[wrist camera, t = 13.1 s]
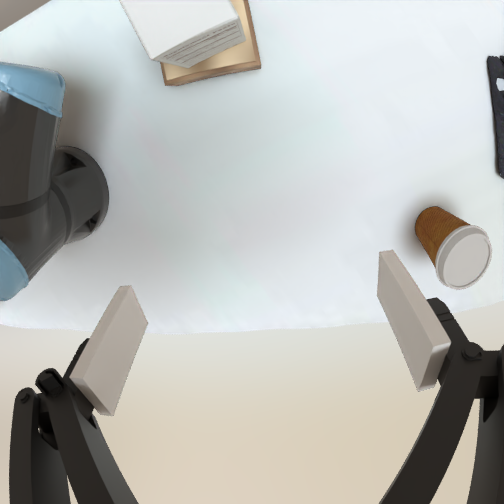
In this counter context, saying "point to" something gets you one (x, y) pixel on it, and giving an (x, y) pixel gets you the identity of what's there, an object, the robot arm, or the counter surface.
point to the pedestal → (220, 56)
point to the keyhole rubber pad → (498, 104)
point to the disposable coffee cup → (454, 247)
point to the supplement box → (184, 28)
